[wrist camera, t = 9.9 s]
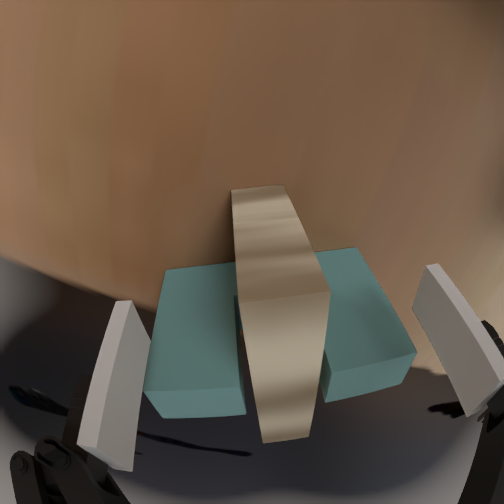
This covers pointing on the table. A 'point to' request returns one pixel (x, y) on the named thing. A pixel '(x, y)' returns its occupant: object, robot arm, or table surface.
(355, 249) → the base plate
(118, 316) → the robot arm
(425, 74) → the table surface
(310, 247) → the upper plate
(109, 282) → the table surface
